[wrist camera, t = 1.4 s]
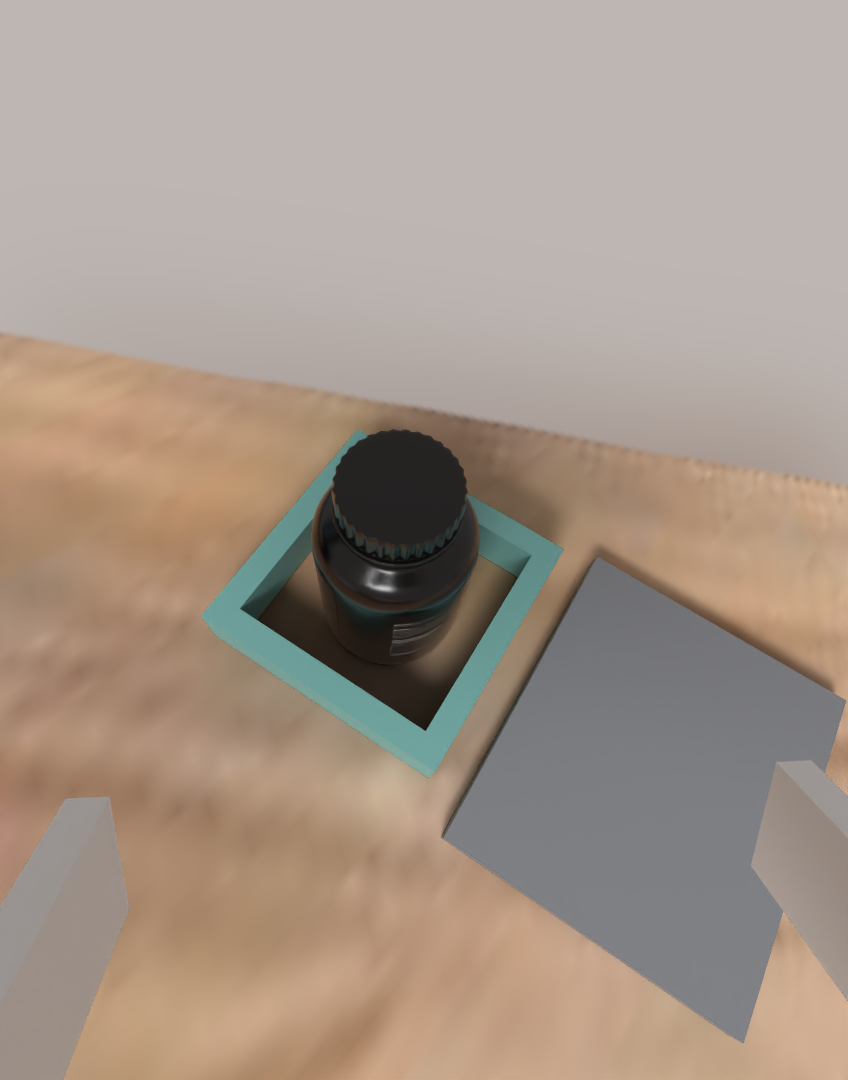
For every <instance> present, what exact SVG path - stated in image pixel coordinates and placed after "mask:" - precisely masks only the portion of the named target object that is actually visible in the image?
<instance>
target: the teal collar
mask: <svg viewBox="0 0 848 1080" xmlns="http://www.w3.org/2000/svg"><path fill="white" fill-rule="evenodd" d="M367 436H368V435H367V434H365V433H363V432H362V431H360V430H358V429H357V431H356V432H355V433H354V434H353V435H352V437H351V438H350V439H349V440H348V441H347V443H346V444H345V445H344V446H343V447H342V449H341V450H340V451H339V452H338V453H337V454H336V456H335V457H334V458H333V459H332V460H331V462H330V463H329V464H328V465H327V466H326V468H325V469H324V470H323V471H322V472H321V474H320V475H319V476H318V477H317V478H316V479H315V481H314V482H313V483H312V484H311V485H310V487H309V488H308V489H307V490H306V491H305V493H304V494H303V495H302V496H301V497H300V499H299V500H298V501H297V502H296V503H295V504H294V506H293V507H292V508H291V509H290V510H289V512H288V513H287V514H286V515H285V516H284V518H283V519H282V520H281V521H280V522H279V524H278V525H277V526H276V527H275V528H274V529H273V531H272V532H271V533H270V534H269V535H268V537H267V538H266V539H265V540H264V541H263V543H262V544H261V545H260V546H259V547H258V549H257V550H256V551H255V552H254V553H253V554H252V556H251V557H250V558H249V559H248V560H247V562H246V563H245V564H244V565H243V566H242V568H241V569H240V570H239V571H238V572H237V574H236V575H235V576H234V577H233V578H232V579H231V581H230V582H229V583H228V584H227V585H226V587H225V588H224V589H223V590H222V591H221V593H220V594H219V595H218V596H217V597H216V599H215V600H214V601H213V602H212V603H211V604H210V606H209V607H208V608H207V609H206V610H205V612H204V613H203V614H202V615H201V616H202V618H203V619H204V621H205V622H206V623H207V625H208V626H209V627H210V629H211V630H212V632H213V633H214V634H215V635H216V636H217V637H219V638H220V639H222V640H223V641H225V642H226V643H228V644H229V645H231V646H232V647H233V648H235V649H236V650H238V651H239V652H241V653H242V654H244V655H245V656H247V657H248V658H250V659H251V660H253V661H254V662H256V663H257V664H259V665H260V666H262V667H263V668H265V669H266V670H268V671H269V672H271V673H272V674H274V675H275V676H277V677H278V678H280V679H281V680H283V681H284V682H286V683H287V684H289V685H290V686H292V687H293V688H294V689H296V690H297V691H299V692H300V693H302V694H303V695H305V696H306V697H308V698H309V699H311V700H312V701H314V702H315V703H317V704H318V705H320V706H321V707H323V708H324V709H326V710H327V711H329V712H330V713H332V714H333V715H335V716H336V717H338V718H339V719H341V720H342V721H344V722H345V723H347V724H348V725H350V726H351V727H353V728H354V729H355V730H357V731H358V732H360V733H361V734H363V735H364V736H366V737H367V738H369V739H370V740H372V741H373V742H375V743H376V744H378V745H379V746H381V747H382V748H384V749H385V750H387V751H388V752H390V753H391V754H393V755H394V756H396V757H397V758H399V759H400V760H402V761H403V762H405V763H406V764H408V765H409V766H411V767H412V768H414V769H415V770H417V771H418V772H419V773H421V774H422V775H424V776H425V777H427V778H429V777H430V776H431V775H432V774H433V773H435V771H436V769H437V768H438V766H439V764H440V763H441V761H442V759H443V757H444V756H445V754H446V752H447V750H448V749H449V747H450V745H451V744H452V742H453V740H454V738H455V737H456V735H457V733H458V731H459V730H460V728H461V726H462V725H463V723H464V721H465V719H466V718H467V716H468V714H469V712H470V711H471V709H472V707H473V706H474V704H475V702H476V700H477V699H478V697H479V695H480V693H481V692H482V690H483V688H484V686H485V685H486V683H487V681H488V680H489V678H490V676H491V674H492V673H493V671H494V669H495V667H496V666H497V664H498V662H499V661H500V659H501V657H502V655H503V654H504V652H505V650H506V648H507V647H508V645H509V643H510V642H511V640H512V638H513V636H514V635H515V633H516V631H517V629H518V628H519V626H520V624H521V623H522V621H523V619H524V617H525V616H526V614H527V612H528V610H529V609H530V607H531V605H532V604H533V602H534V600H535V598H536V597H537V595H538V593H539V591H540V590H541V588H542V586H543V585H544V583H545V581H546V579H547V578H548V576H549V574H550V572H551V571H552V569H553V567H554V566H555V564H556V562H557V560H558V559H559V557H560V555H561V553H562V552H563V550H564V549H563V548H561V547H559V546H557V545H556V544H554V543H552V542H551V541H549V540H547V539H545V538H544V537H542V536H540V535H539V534H537V533H535V532H533V531H532V530H530V529H528V528H527V527H525V526H523V525H521V524H520V523H518V522H516V521H515V520H513V519H511V518H509V517H508V516H506V515H504V514H502V513H501V512H499V511H497V510H496V509H494V508H492V507H490V506H489V505H487V504H485V503H484V502H482V501H480V500H478V499H477V498H475V497H473V496H472V495H470V494H468V495H467V497H468V498H469V500H470V502H471V503H472V506H473V508H474V510H475V513H476V516H477V519H478V523H479V530H480V545H479V551H478V554H480V555H481V556H483V557H485V558H486V559H488V560H490V561H491V562H493V563H495V564H496V565H498V566H500V567H501V568H503V569H505V570H506V571H508V572H510V573H511V574H513V575H515V576H516V577H518V579H517V581H516V582H515V584H514V586H513V587H512V589H511V591H510V592H509V594H508V596H507V597H506V599H505V601H504V602H503V604H502V605H501V607H500V609H499V610H498V612H497V614H496V615H495V617H494V619H493V620H492V622H491V624H490V625H489V627H488V629H487V630H486V632H485V634H484V635H483V637H482V639H481V640H480V642H479V644H478V645H477V647H476V649H475V650H474V652H473V654H472V655H471V657H470V659H469V660H468V662H467V664H466V665H465V667H464V669H463V670H462V672H461V673H460V675H459V677H458V678H457V680H456V682H455V683H454V685H453V687H452V688H451V690H450V692H449V693H448V695H447V697H446V698H445V700H444V702H443V703H442V705H441V707H440V708H439V710H438V712H437V713H436V715H435V717H434V718H433V720H432V722H431V723H430V725H429V727H428V728H427V730H426V731H425V730H423V729H421V728H420V727H418V726H417V725H415V724H414V723H412V722H411V721H409V720H408V719H406V718H405V717H403V716H402V715H400V714H399V713H397V712H396V711H394V710H393V709H391V708H390V707H388V706H387V705H385V704H384V703H382V702H380V701H379V700H377V699H376V698H374V697H373V696H371V695H370V694H368V693H367V692H365V691H364V690H362V689H361V688H359V687H358V686H356V685H355V684H353V683H352V682H350V681H349V680H347V679H346V678H344V677H343V676H341V675H340V674H338V673H336V672H335V671H333V670H332V669H330V668H329V667H327V666H326V665H324V664H323V663H321V662H320V661H318V660H317V659H315V658H314V657H312V656H311V655H309V654H308V653H306V652H305V651H303V650H302V649H300V648H299V647H297V646H295V645H294V644H292V643H291V642H289V641H288V640H286V639H285V638H283V637H282V636H280V635H279V634H277V633H276V632H274V631H273V630H271V629H270V628H268V627H267V626H265V625H264V624H262V623H261V622H259V621H258V620H257V619H258V618H259V616H260V615H261V614H262V613H263V611H264V610H265V609H266V608H267V606H268V605H269V604H270V603H271V601H272V600H273V599H274V597H275V596H276V595H277V594H278V592H279V591H280V590H281V589H282V587H283V586H284V585H285V584H286V582H287V581H288V580H289V579H290V577H291V576H292V575H293V573H294V572H295V571H296V570H297V568H298V567H299V566H300V565H301V563H302V562H303V561H304V560H305V558H306V557H307V556H308V555H309V553H310V552H311V551H312V541H311V530H312V522H313V518H314V514H315V511H316V509H317V506H318V504H319V502H320V500H321V498H322V497H323V495H324V494H325V492H326V491H327V490H328V488H329V487H330V486H331V485H332V479H333V477H334V475H335V468H336V466H337V465H338V464H339V463H340V460H341V457H342V456H343V455H345V454H346V453H347V451H348V449H349V448H350V447H352V446H354V445H355V444H356V443H357V441H358V440H362V439H365V438H366V437H367Z"/></svg>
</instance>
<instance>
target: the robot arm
mask: <svg viewBox="0 0 848 1080" xmlns="http://www.w3.org/2000/svg"><path fill="white" fill-rule="evenodd" d="M751 867H752V868H753V870H754V871H755V872H756V874H757V875H758V877H759V878H760V879H761V881H762V882H763V884H764V885H765V886H766V888H767V889H768V891H769V892H770V893H771V895H772V896H773V898H774V899H775V900H776V902H777V903H778V905H779V906H780V907H781V909H782V910H783V912H784V913H785V914H786V916H787V917H788V919H789V920H790V921H791V923H792V924H793V926H794V927H795V928H796V930H797V931H798V933H799V934H800V935H801V937H802V938H803V940H804V941H805V942H806V944H807V945H808V947H809V948H810V949H811V951H812V952H813V954H814V955H815V956H816V958H817V959H818V961H819V962H820V963H821V965H822V966H823V968H824V969H825V970H826V972H827V973H828V975H829V976H830V977H831V979H832V980H833V981H834V983H835V984H836V986H837V987H838V988H839V990H840V991H841V993H842V994H843V995H844V997H845V998H846V1000H847V1001H848V796H847V795H846V794H845V793H844V792H843V791H842V790H841V789H840V788H839V787H838V786H837V785H836V784H835V783H834V782H833V781H832V780H831V779H830V778H829V777H828V776H827V775H826V774H825V773H824V772H823V771H822V770H821V769H820V768H819V767H818V766H817V765H816V764H815V763H813V762H812V761H811V760H805V761H785V762H776V765H775V769H774V773H773V777H772V781H771V785H770V789H769V793H768V797H767V802H766V806H765V810H764V814H763V818H762V822H761V826H760V830H759V834H758V838H757V842H756V846H755V850H754V854H753V858H752V862H751ZM128 910H129V904H128V898H127V893H126V887H125V881H124V876H123V870H122V865H121V859H120V854H119V848H118V843H117V837H116V831H115V826H114V820H113V815H112V809H111V804H110V798H109V797H90V798H70V799H65V801H64V802H63V804H62V806H61V807H60V809H59V811H58V812H57V814H56V816H55V817H54V819H53V820H52V822H51V824H50V825H49V827H48V829H47V830H46V832H45V834H44V835H43V837H42V839H41V840H40V842H39V843H38V845H37V847H36V848H35V850H34V852H33V853H32V855H31V857H30V858H29V860H28V862H27V863H26V865H25V867H24V868H23V870H22V871H21V873H20V875H19V876H18V878H17V880H16V881H15V883H14V885H13V886H12V888H11V890H10V891H9V893H8V894H7V896H6V898H5V899H4V901H3V903H2V904H1V906H0V1080H63V1078H64V1076H65V1073H66V1070H67V1068H68V1065H69V1063H70V1060H71V1058H72V1055H73V1052H74V1050H75V1047H76V1045H77V1042H78V1039H79V1037H80V1034H81V1032H82V1029H83V1027H84V1024H85V1021H86V1019H87V1016H88V1014H89V1011H90V1009H91V1006H92V1003H93V1001H94V998H95V996H96V993H97V990H98V988H99V985H100V983H101V980H102V978H103V975H104V972H105V970H106V967H107V965H108V962H109V960H110V957H111V954H112V952H113V949H114V947H115V944H116V941H117V939H118V936H119V934H120V931H121V929H122V926H123V923H124V921H125V918H126V916H127V913H128Z"/></svg>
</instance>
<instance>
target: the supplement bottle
mask: <svg viewBox="0 0 848 1080" xmlns="http://www.w3.org/2000/svg"><path fill="white" fill-rule="evenodd" d="M466 485H467V480H466V478H465V477H464V469H463V468H462V467H461V466H460V465H459V461H458V459H457V458H456V457H455V456H453V455H452V452H451V450H449V449H448V448H445V447H444V446H443V444H442V443H441V442H439V441H436V440H434V439H433V438H432V437H431V436H427V435H423V434H421V433H420V432H411V431H409V430H402V431H399V430H394V429H393V430H390V431H388V432H387V431H380V432H378V433H377V434H372V435H368V436H367V437H366V438H365V439H362V440H358V441H357V443H356V444H355V445H354V446H352V447H350V448H349V449H348V451H347V453H346V454H345V455H343V456H342V457H341V460H340V463H339V464H338V465H337V466H336V468H335V475H334V477H333V479H332V485H331V486H330V487H329V488H328V490H327V491H326V492H325V494H324V495H323V497H322V498H321V500H320V502H319V504H318V506H317V509H316V511H315V514H314V518H313V522H312V530H311V541H312V550H313V556H314V561H315V566H316V572H317V577H318V582H319V587H320V592H321V597H322V602H323V607H324V612H325V615H326V619H327V622H328V624H329V626H330V628H331V630H332V632H333V634H334V635H335V637H336V638H337V639H338V641H339V642H340V643H341V644H342V645H343V646H344V647H345V648H346V649H348V650H349V651H350V652H352V653H353V654H355V655H357V656H358V657H360V658H363V659H365V660H368V661H371V662H374V663H379V664H402V663H407V662H411V661H414V660H416V659H419V658H421V657H423V656H425V655H426V654H428V653H429V652H431V651H432V650H433V649H435V648H436V647H437V646H438V645H439V644H440V643H441V642H442V640H443V639H444V638H445V636H446V635H447V634H448V632H449V630H450V628H451V626H452V624H453V622H454V619H455V617H456V615H457V612H458V609H459V607H460V604H461V601H462V599H463V596H464V593H465V591H466V588H467V585H468V583H469V580H470V577H471V574H472V572H473V569H474V566H475V563H476V560H477V556H478V551H479V545H480V530H479V523H478V519H477V516H476V513H475V510H474V508H473V506H472V503H471V502H470V500H469V498H468V497H467V495H468V492H467V488H466Z"/></svg>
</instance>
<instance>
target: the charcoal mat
mask: <svg viewBox="0 0 848 1080" xmlns="http://www.w3.org/2000/svg"><path fill="white" fill-rule="evenodd" d="M845 703H846V700H844V699H843V698H841V697H839V696H837V695H836V694H834V693H832V692H831V691H829V690H827V689H825V688H824V687H822V686H820V685H818V684H817V683H815V682H813V681H812V680H810V679H808V678H806V677H805V676H803V675H801V674H799V673H798V672H796V671H794V670H793V669H791V668H789V667H787V666H786V665H784V664H782V663H780V662H779V661H777V660H775V659H774V658H772V657H770V656H768V655H767V654H765V653H763V652H761V651H760V650H758V649H756V648H755V647H753V646H751V645H749V644H748V643H746V642H744V641H742V640H741V639H739V638H737V637H736V636H734V635H732V634H730V633H729V632H727V631H725V630H723V629H722V628H720V627H718V626H717V625H715V624H713V623H711V622H710V621H708V620H706V619H704V618H703V617H701V616H699V615H698V614H696V613H694V612H692V611H691V610H689V609H687V608H685V607H684V606H682V605H680V604H679V603H677V602H675V601H673V600H672V599H670V598H668V597H666V596H665V595H663V594H661V593H660V592H658V591H656V590H654V589H653V588H651V587H649V586H647V585H646V584H644V583H642V582H641V581H639V580H637V579H635V578H634V577H632V576H630V575H628V574H627V573H625V572H623V571H622V570H620V569H618V568H616V567H615V566H613V565H611V564H609V563H608V562H606V561H604V560H603V559H601V558H599V557H597V558H596V559H595V560H594V561H593V562H592V564H591V565H590V567H589V569H588V571H587V572H586V574H585V576H584V578H583V580H582V582H581V583H580V585H579V587H578V589H577V591H576V593H575V594H574V596H573V598H572V600H571V602H570V603H569V605H568V607H567V609H566V611H565V613H564V614H563V616H562V618H561V620H560V622H559V624H558V625H557V627H556V629H555V631H554V633H553V634H552V636H551V638H550V640H549V642H548V644H547V645H546V647H545V649H544V651H543V653H542V655H541V656H540V658H539V660H538V662H537V664H536V665H535V667H534V669H533V671H532V673H531V675H530V676H529V678H528V680H527V682H526V684H525V686H524V687H523V689H522V691H521V693H520V695H519V696H518V698H517V700H516V702H515V704H514V706H513V707H512V709H511V711H510V713H509V715H508V717H507V718H506V720H505V722H504V724H503V726H502V727H501V729H500V731H499V733H498V735H497V737H496V738H495V740H494V742H493V744H492V746H491V748H490V749H489V751H488V753H487V755H486V757H485V758H484V760H483V762H482V764H481V766H480V768H479V769H478V771H477V773H476V775H475V777H474V779H473V780H472V782H471V784H470V786H469V788H468V789H467V791H466V793H465V795H464V797H463V799H462V800H461V802H460V804H459V806H458V808H457V810H456V811H455V813H454V815H453V817H452V819H451V820H450V822H449V824H448V826H447V828H446V830H445V831H444V833H443V835H442V837H441V838H442V839H444V840H445V841H447V842H448V843H450V844H451V845H453V846H454V847H456V848H457V849H458V850H460V851H461V852H463V853H464V854H466V855H467V856H469V857H470V858H472V859H473V860H475V861H476V862H477V863H479V864H480V865H482V866H483V867H485V868H486V869H488V870H489V871H491V872H492V873H493V874H495V875H496V876H498V877H499V878H501V879H502V880H504V881H505V882H507V883H508V884H509V885H511V886H512V887H514V888H515V889H517V890H518V891H520V892H521V893H523V894H524V895H525V896H527V897H528V898H530V899H531V900H533V901H534V902H536V903H537V904H539V905H540V906H541V907H543V908H544V909H546V910H547V911H549V912H550V913H552V914H553V915H555V916H556V917H558V918H559V919H560V920H562V921H563V922H565V923H566V924H568V925H569V926H571V927H572V928H574V929H575V930H576V931H578V932H579V933H581V934H582V935H584V936H585V937H587V938H588V939H590V940H591V941H592V942H594V943H595V944H597V945H598V946H600V947H601V948H603V949H604V950H606V951H607V952H608V953H610V954H611V955H613V956H614V957H616V958H617V959H619V960H620V961H622V962H623V963H624V964H626V965H627V966H629V967H630V968H632V969H633V970H635V971H636V972H638V973H639V974H641V975H642V976H643V977H645V978H646V979H648V980H649V981H651V982H652V983H654V984H655V985H657V986H658V987H659V988H661V989H662V990H664V991H665V992H667V993H668V994H670V995H671V996H673V997H674V998H675V999H677V1000H678V1001H680V1002H681V1003H683V1004H684V1005H686V1006H687V1007H689V1008H690V1009H691V1010H693V1011H694V1012H696V1013H697V1014H699V1015H700V1016H702V1017H703V1018H705V1019H706V1020H708V1021H709V1022H710V1023H712V1024H713V1025H715V1026H716V1027H718V1028H719V1029H721V1030H722V1031H724V1032H725V1033H726V1034H728V1035H729V1036H731V1037H733V1038H735V1039H737V1040H738V1041H740V1042H742V1043H744V1040H745V1037H746V1033H747V1030H748V1027H749V1023H750V1020H751V1017H752V1013H753V1010H754V1007H755V1003H756V1000H757V997H758V993H759V990H760V987H761V983H762V980H763V977H764V973H765V970H766V967H767V963H768V960H769V957H770V953H771V950H772V947H773V943H774V940H775V937H776V933H777V930H778V927H779V923H780V920H781V917H782V913H783V910H782V909H781V907H780V906H779V905H778V903H777V902H776V900H775V899H774V898H773V896H772V895H771V893H770V892H769V891H768V889H767V888H766V886H765V885H764V884H763V882H762V881H761V879H760V878H759V877H758V875H757V874H756V872H755V871H754V870H753V868H752V867H751V862H752V858H753V854H754V850H755V846H756V842H757V838H758V834H759V830H760V826H761V822H762V818H763V814H764V810H765V806H766V802H767V797H768V793H769V789H770V785H771V781H772V777H773V773H774V769H775V765H776V762H785V761H805V760H811V761H812V762H813V763H815V764H816V765H817V766H818V767H819V768H820V769H821V770H822V771H823V772H824V773H825V770H826V766H827V763H828V760H829V756H830V753H831V750H832V746H833V743H834V740H835V736H836V733H837V730H838V726H839V723H840V720H841V716H842V713H843V710H844V706H845Z"/></svg>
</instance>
